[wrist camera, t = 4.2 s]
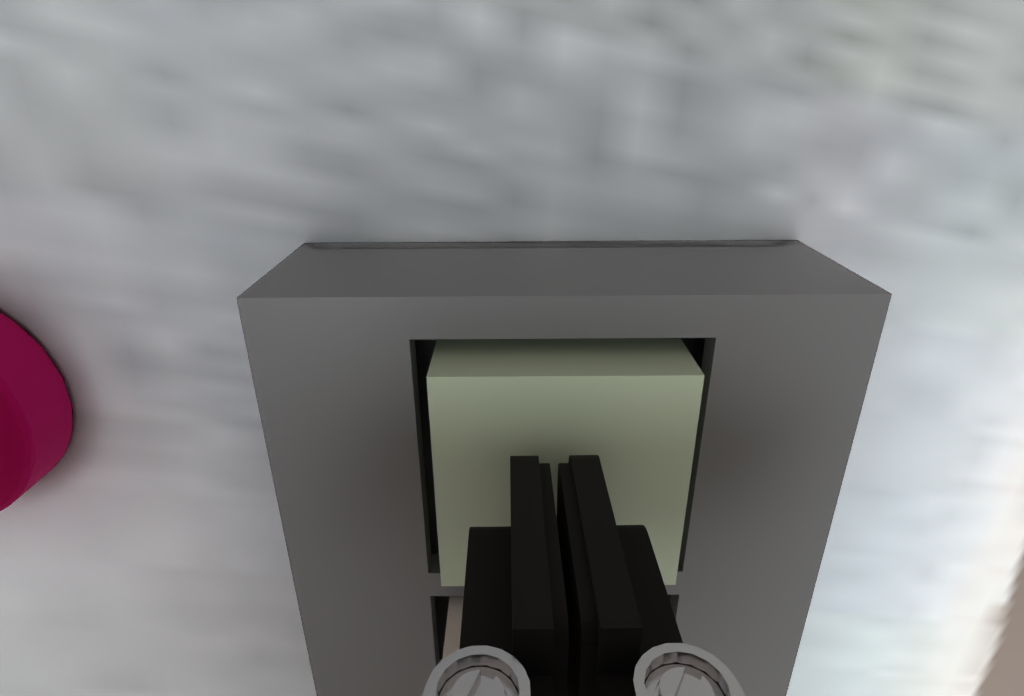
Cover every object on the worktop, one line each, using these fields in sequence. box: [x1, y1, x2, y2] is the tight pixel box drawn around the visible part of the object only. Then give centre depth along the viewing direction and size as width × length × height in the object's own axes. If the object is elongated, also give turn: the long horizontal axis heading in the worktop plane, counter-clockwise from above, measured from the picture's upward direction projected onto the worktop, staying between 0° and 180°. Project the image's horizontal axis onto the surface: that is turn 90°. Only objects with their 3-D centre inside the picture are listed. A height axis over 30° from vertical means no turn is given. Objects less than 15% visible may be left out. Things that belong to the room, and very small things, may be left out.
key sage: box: [426, 338, 705, 586], centre depth 14 cm, size 5×5×4 cm
